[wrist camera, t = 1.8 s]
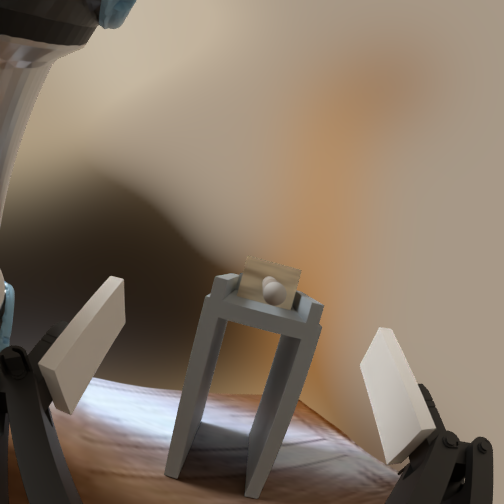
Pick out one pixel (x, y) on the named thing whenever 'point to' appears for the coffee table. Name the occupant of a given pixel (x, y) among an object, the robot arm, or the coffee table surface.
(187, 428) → the shelf
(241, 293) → the maple block
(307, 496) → the coffee table surface
